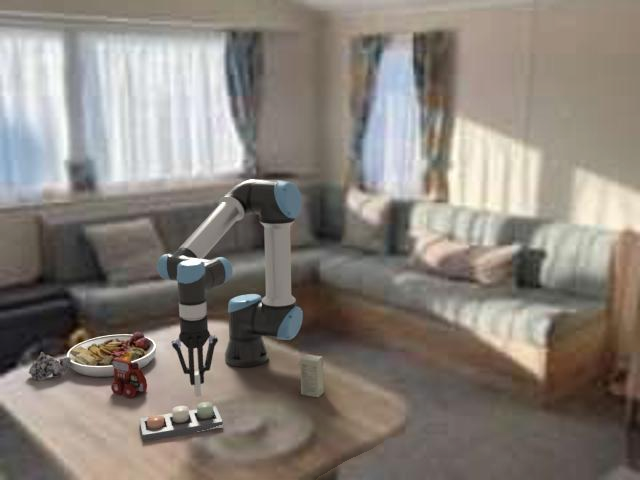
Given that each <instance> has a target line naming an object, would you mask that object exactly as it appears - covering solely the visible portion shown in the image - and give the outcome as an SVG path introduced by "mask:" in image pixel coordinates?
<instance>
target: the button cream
mask: <svg viewBox="0 0 640 480" xmlns="http://www.w3.org/2000/svg"><path fill="white" fill-rule="evenodd" d="M189 410H190V409H189V407H188V406H186V405H178V406H175V407H173V408H172V409H171V413H172V419H173V421H174V422H176V423H184V422H188V421H189V420H188V419H189ZM187 420H188V421H187Z"/></svg>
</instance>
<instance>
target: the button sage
mask: <svg viewBox="0 0 640 480" xmlns="http://www.w3.org/2000/svg"><path fill="white" fill-rule="evenodd" d="M213 406H214V404H213V403H212V402H209V401H202V402H200V403H198V404H197V405H196V409H197V416H198V417H199V418H200V419H208V418H212V417H214V416H213Z"/></svg>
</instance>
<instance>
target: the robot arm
mask: <svg viewBox="0 0 640 480" xmlns="http://www.w3.org/2000/svg"><path fill="white" fill-rule="evenodd" d="M302 200H303V199H302V195H301V192H300V190H299V187H297V185H296V184H295V183H294V182H291V181H285V180H281V179H279V180H277V179H276V180H275V179H258V178H252V179H246V180H243V181H242V182H240V183H238V184H237V185H234V186H233V187H231V188H230V189H229V190H227V191H226V192H225V193H224V194H223V195H222V196H221V198H220V199H219V201H218V205H217V207H216V208H215V209H214V210H212V212H211V213H210V214H209V215H208V216H207V217H206V218H205V220H204V221H203V222H201V224H200V225H199V226H197V228H196V229H195V231H193V232H192V234H191V235H190V236H189V237H188V238H187V239H186V240H185V241H184V242H183V243H182V245H181V246H180V247H178V249H177V250H176V251H175V252H174V253H173V254H172V253H165V254H163V255H161V256H160V257H159V259H158V261H157V265H156V271H157V273H158V276H160V277H161V278H162V279H165V280H169V281H171V282H174V281H175V282H177V292H178V293H177V294H178V311H179V328H180V332H179V334H178V338H177V339H176V340H171V345H172V348H173V349H174V350H175V352H176V354H177V357H178V359H179V363H180V365H181V368H182V371H183V374H184V375H189V384H190V385H191V386H193V388H194V389H193V390H194V396H195V397H196V398H197V397H202V389H201V388H202V387H201V385H202V384H204V383H205V372H209V371H210V370H211V366H212V363H213V362H212V361H213V356H214V352H215V346H216V345H217V343H218V342H219V340H218V339H219V338H218V337H217V335H212V334H211V333H210V331H209V326H208V316H207V315H208V309H207V308H208V306H207V291H209V290H211V289H213V288H215V287H218V286H220V285H223V284H225V283H226V282H227V281H229V280H230V279H231V278H232V276H233V272H234V271H233V265H232V263H231V262H230V261H229V260H228V259H227V258H225V257H223V256H220V257H214V258H212V259H208V258H207V259H206V258H205V257H206V256H207V255H208V254H209V253H210V251H211V250H213V248H214V247H215V246H216V245H217V244H218V243H219V241H220V240H221V239H222V238H223V236H224V235H225V234H226V233H227V232H228V231H229V230H230V229H231V228H232V227H233V225H234V224H235V223H236V222H237V221H238V222H239V221H240V220H242V219H244V217H245V216H249V215H252V214H253V215H258V216H259V223H260V224H261V225H262V226H263V227H264V228H263V229H264V232H263V233H264V264H265V267H264V269H265V270H264V271H265V272H264V273H265V296H264V297H262V296H261V295H260V294H258V293H250V294H249V293H247V294H242V295H237V296H235V297H232V298H231V299H230V300H229V302H228V308H227V314H228V342H227V346H226V349H225V353H224V361H225V363H226V364H228V365H230V366H232V367H237V368H251V367H256V366H260V365H262V364H264V363H266V362H267V360H268V358H269V355H268V349H267V346H266V344H265V341H264V338H263V337H267V338H272V339H277V340H284V341H285V340H286V341H291V340H292V339H293V338H295V337H296V336H297V335H298V333H299V331H300V329H301V327H302V323H303V320H304V319H303V318H304V317H303V316H304V313H303V310H302V308H301V307H299V306H297V302H296V300H297V298H296V297H294V296H293V295H292V263H291V262H292V260H291V259H292V257H291V256H292V255H291V252H292V251H291V226H292V225H293V224H294V223H295V221H296V220H295V219H296V218H297V217H299V215H300V213H301V209H302V203H303V202H302ZM207 341H208V347H207V351H206V352H207V353H206V356H205V362H204V352H203V351H204V346H205V344H206V343H207ZM181 343H182V344H183V345H184V346H185V347H186V348H187V354H188V355H187V356H188V367H187V364H186V361H185V358H184V355H183V352H182V348H181V346H182V344H181ZM195 349H196V354H197V370H195V355H194V352H195V351H194V350H195Z"/></svg>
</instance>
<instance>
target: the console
mask: <svg viewBox="0 0 640 480" xmlns="http://www.w3.org/2000/svg"><path fill="white" fill-rule="evenodd" d="M213 414H214V416H215V418H216V419H214V418H211V419H207V420H202V421H198V418H199V417H198V416H197V408H196V409H195V408H194V409H189V419H188V420H187V421H186V422H188V421H189V423H182V424H178V425H177V424H176V423H177V422H174V421H173V419H172V412H169V413H164V414H160V415H161V416H163V417H164V428H158V429H152V430H148V429H147V419H148V418H149V417H150V416H146V417H140V418H139V426H140V432H141V438H142V442H149V441H154V440H161V439H165V438H172V437H177V436H183V435H191V434H195V433H194V432H196V433H198V432H197V431H202V430H207V429H210V428H213V427H216V426H219V425H222V424H224V423H223V422H224V421H223V419H222V416H221V415H220V412H219V410H218V408H217V406H216V405H213ZM214 416H213V417H214ZM173 423H175V424H176V425H172V424H173ZM202 432H203V431H202Z"/></svg>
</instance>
